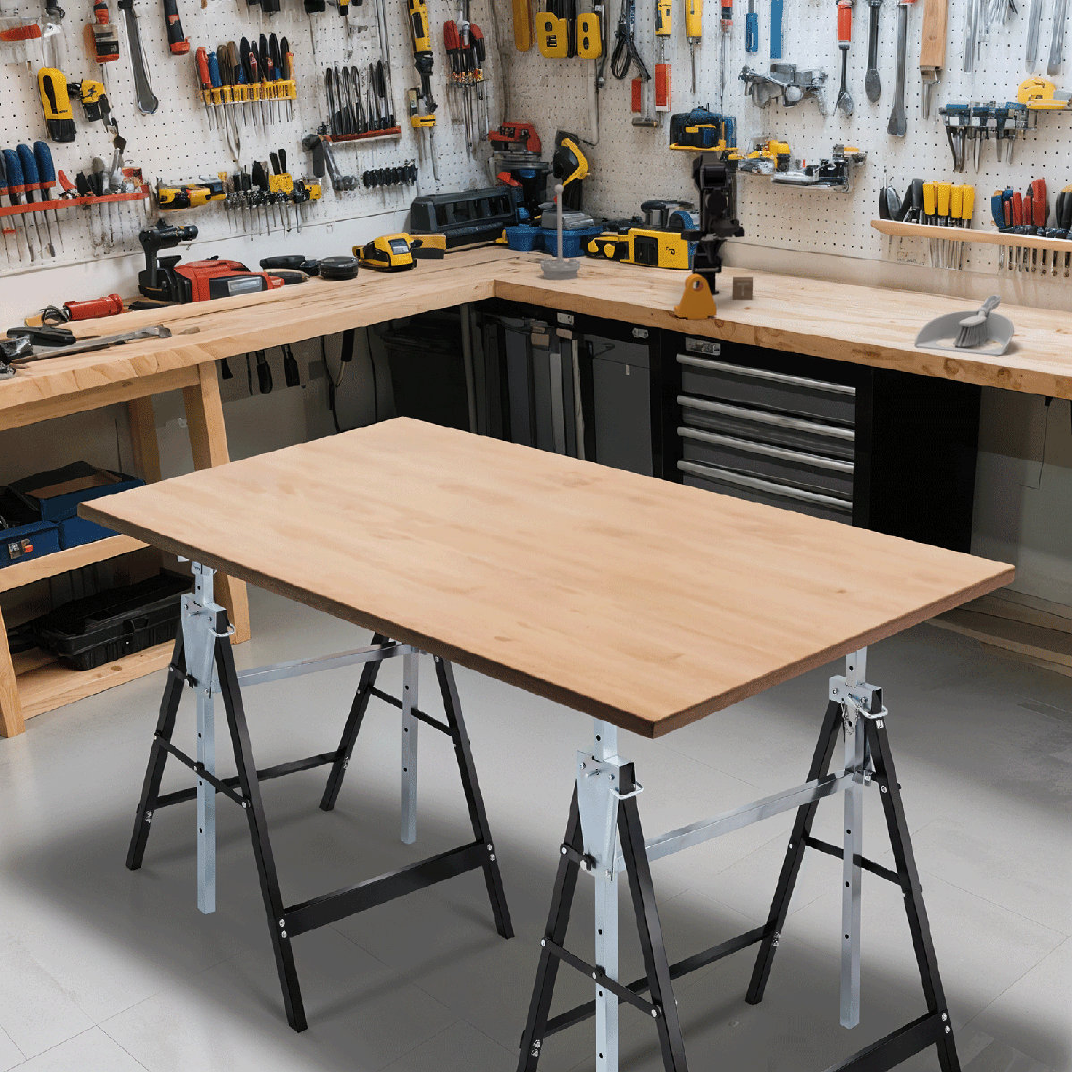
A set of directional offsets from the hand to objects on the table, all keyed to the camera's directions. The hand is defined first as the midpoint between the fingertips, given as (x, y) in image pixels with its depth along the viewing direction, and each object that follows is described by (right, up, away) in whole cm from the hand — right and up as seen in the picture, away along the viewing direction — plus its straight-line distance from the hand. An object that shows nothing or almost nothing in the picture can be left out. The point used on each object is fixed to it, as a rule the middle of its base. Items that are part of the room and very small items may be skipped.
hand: (712, 263), depth 399 cm
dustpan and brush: (+62, -30, -47) cm, 83 cm away
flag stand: (-43, +6, +53) cm, 69 cm away
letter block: (+11, -8, +12) cm, 18 cm away
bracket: (-7, -18, -12) cm, 22 cm away
